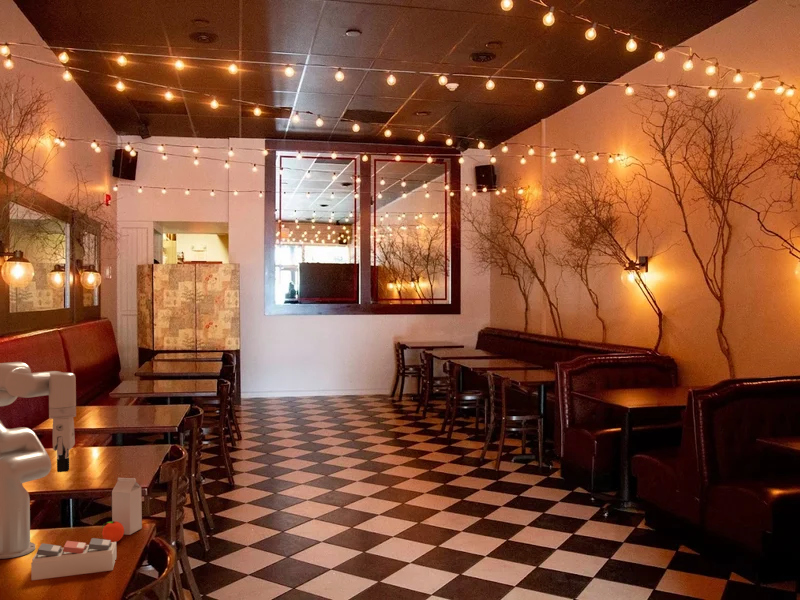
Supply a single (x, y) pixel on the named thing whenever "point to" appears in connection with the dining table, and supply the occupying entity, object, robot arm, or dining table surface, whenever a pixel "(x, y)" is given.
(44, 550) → the rocker
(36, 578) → the rocker switch panel
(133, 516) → the milk carton
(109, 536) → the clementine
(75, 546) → the rocker mid
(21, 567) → the dining table surface
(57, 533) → the dining table surface
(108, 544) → the plate
